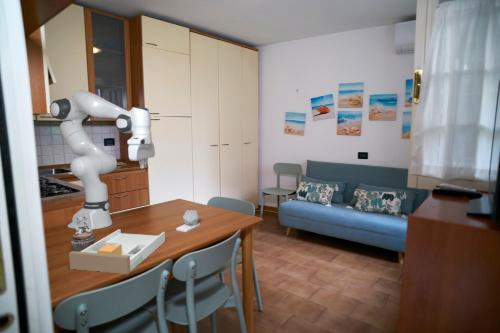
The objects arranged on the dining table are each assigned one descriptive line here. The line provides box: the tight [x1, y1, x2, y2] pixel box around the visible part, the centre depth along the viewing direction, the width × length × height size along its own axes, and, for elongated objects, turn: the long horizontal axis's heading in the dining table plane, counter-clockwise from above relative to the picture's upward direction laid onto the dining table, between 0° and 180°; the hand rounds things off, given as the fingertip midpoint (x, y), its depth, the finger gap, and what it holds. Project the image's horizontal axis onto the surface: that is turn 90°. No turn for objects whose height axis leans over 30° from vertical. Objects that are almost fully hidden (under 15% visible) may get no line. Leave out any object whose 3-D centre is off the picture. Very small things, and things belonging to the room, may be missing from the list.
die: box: [182, 209, 200, 226], centre depth 177 cm, size 8×9×10 cm
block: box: [97, 244, 122, 255], centre depth 128 cm, size 6×8×4 cm
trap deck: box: [68, 228, 166, 275], centre depth 137 cm, size 24×34×6 cm
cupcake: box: [70, 226, 96, 252], centre depth 142 cm, size 10×10×10 cm
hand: (143, 167), depth 157 cm, fingers closed
